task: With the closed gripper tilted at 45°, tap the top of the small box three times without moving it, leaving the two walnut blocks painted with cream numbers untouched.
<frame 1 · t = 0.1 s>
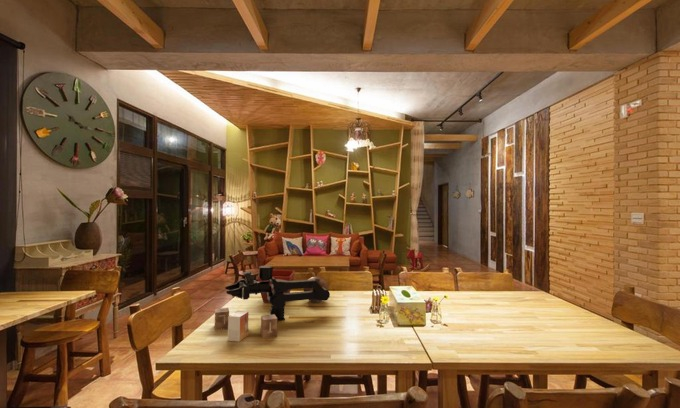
hand: (225, 290, 160), 17 cm above the table, tool horizontal, fingers open, 9 cm apart
plant pot: (276, 301, 202), on the table
small box: (238, 338, 144), on the table
walnut block seven: (221, 327, 156), on the table
walnut block one: (268, 335, 148), on the table
wooden sphere: (315, 302, 201), on the table
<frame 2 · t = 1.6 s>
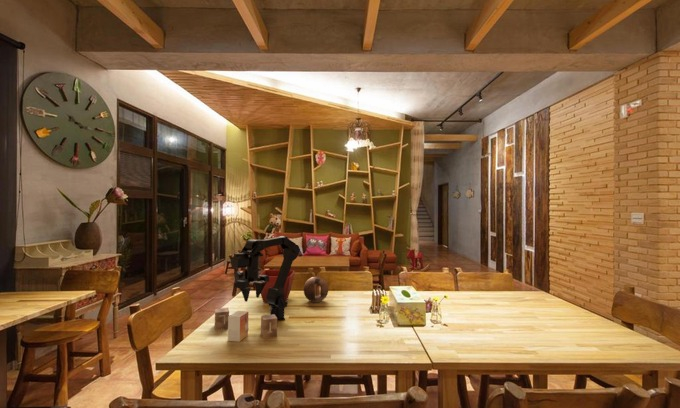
hand: (251, 299, 157), 13 cm above the table, tool pointing down, fingers open, 8 cm apart
nothing on the table moved.
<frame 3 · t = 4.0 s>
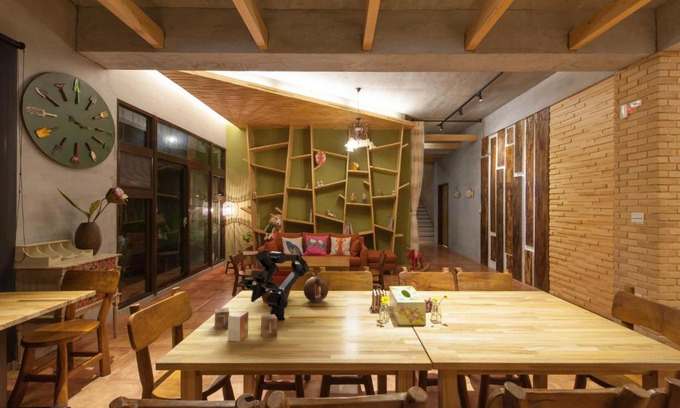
hand: (251, 301, 151), 14 cm above the table, tool tilted 45°, fingers closed
nothing on the table moved.
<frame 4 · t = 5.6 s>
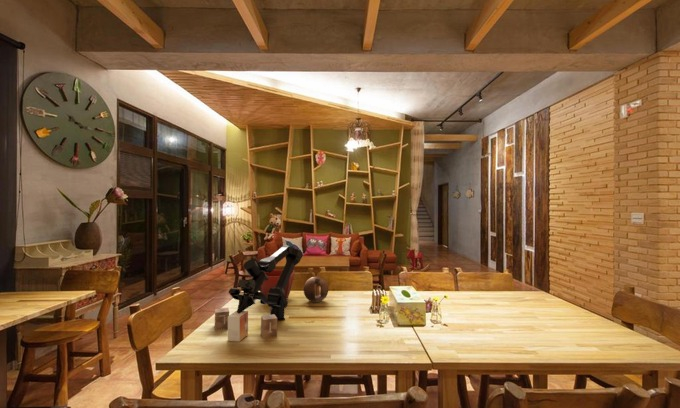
hand: (238, 312, 143), 11 cm above the table, tool tilted 45°, fingers closed, pressing on small box
small box: (238, 338, 144), on the table, touching gripper
everything else where it was.
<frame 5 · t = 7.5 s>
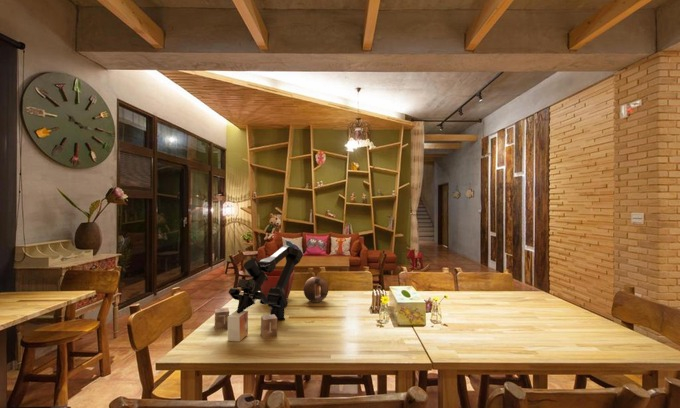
hand: (237, 312, 143), 11 cm above the table, tool tilted 45°, fingers closed, pressing on small box
small box: (238, 337, 144), on the table, touching gripper
everything else where it was.
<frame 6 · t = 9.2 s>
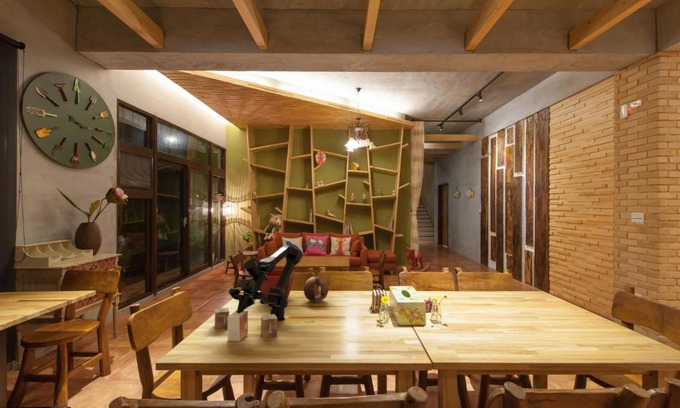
hand: (237, 312, 143), 11 cm above the table, tool tilted 45°, fingers closed, pressing on small box
small box: (238, 337, 144), on the table, touching gripper
everything else where it was.
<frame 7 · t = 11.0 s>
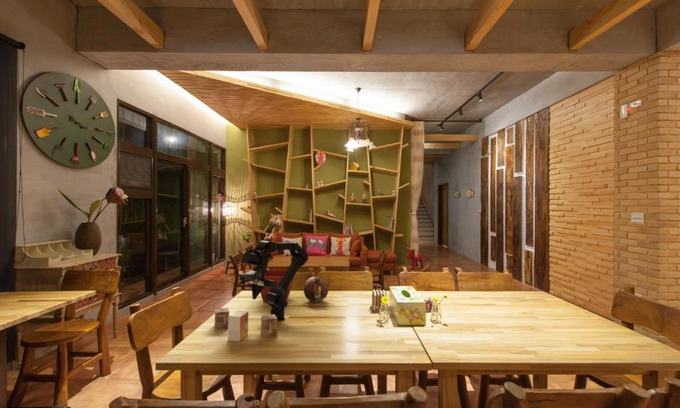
hand: (253, 299, 158), 13 cm above the table, tool pointing down, fingers closed
small box: (238, 338, 144), on the table
everything else where it was.
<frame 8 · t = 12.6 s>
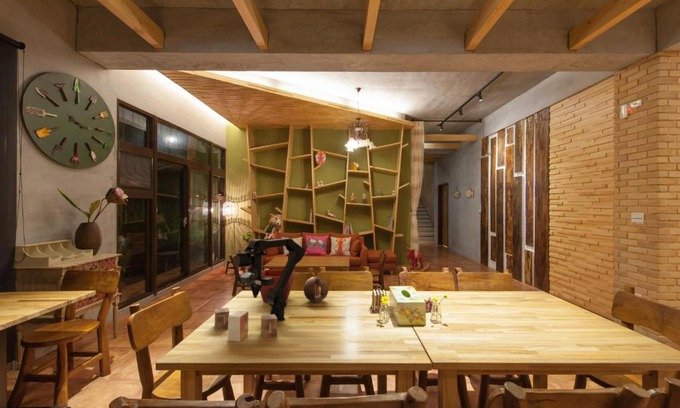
hand: (255, 297, 160), 13 cm above the table, tool pointing down, fingers closed
nothing on the table moved.
at the end: small box moved 0.3 cm from its start; small box tilted 0°; walnut block one moved 0.1 cm from its start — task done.
